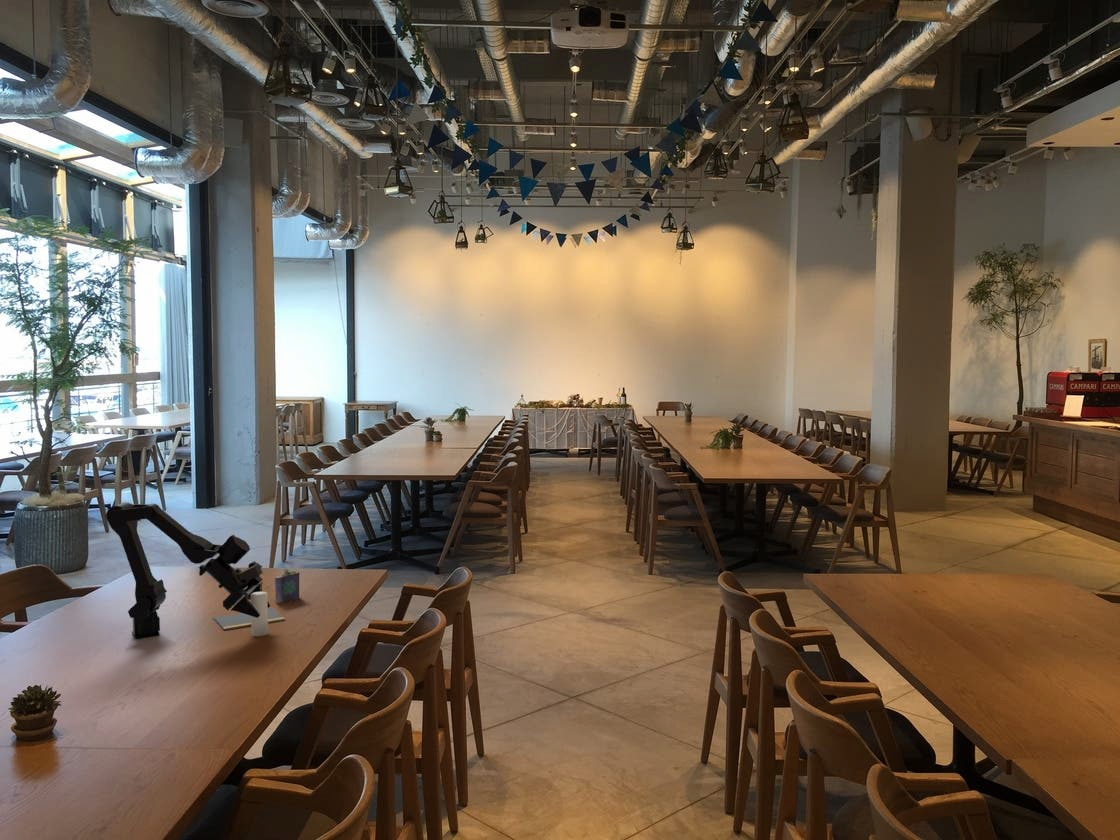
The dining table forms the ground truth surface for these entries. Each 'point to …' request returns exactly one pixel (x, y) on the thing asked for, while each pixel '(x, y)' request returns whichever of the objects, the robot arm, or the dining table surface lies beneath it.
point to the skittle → (260, 623)
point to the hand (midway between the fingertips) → (264, 611)
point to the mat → (244, 619)
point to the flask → (287, 587)
